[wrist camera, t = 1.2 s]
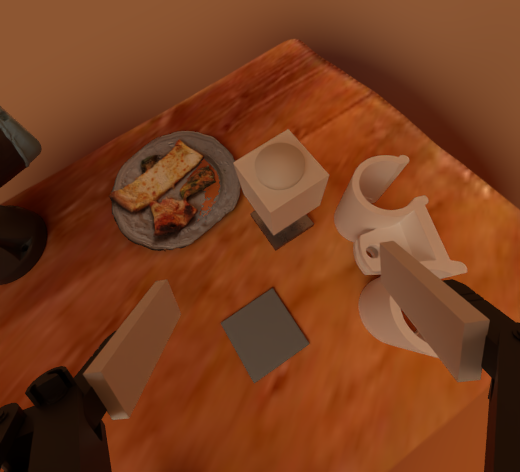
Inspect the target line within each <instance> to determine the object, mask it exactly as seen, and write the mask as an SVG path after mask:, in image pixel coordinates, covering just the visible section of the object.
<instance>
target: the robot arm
mask: <svg viewBox="0 0 520 472" xmlns="http://www.w3.org/2000/svg"><path fill="white" fill-rule="evenodd" d="M40 152H41V145H40V143H39V141H38V140H37V139H36V138H35V137H34V136H33V135H31V134H30V133H29V132H28V131H27V130H26V129H25V128H24V127H23V126H22V125H21V124H20V123H18V122H17V121H16V120H15V119H14V118H13V117H12V116H11V115H10V114H8V113H7V112H6V111H5V110H4V109H3V108H2V107H1V106H0V187H2V186H3V185H4V184H6V183H7V182H8V181H10V180H11V179H12V178H13V177H15V176H16V175H17V174H18V173H20V172H21V171H22V170H24V169H25V168H26V167H28V166H29V164H30V163H31V162H32V161H33V160H34V159H35V158H36V157H37V156H38V155H39V154H40ZM46 238H47V231H46V226H45V223H44V221H43V220H42V218H41V217H40V216H39V215H38V214H36V213H34V212H32V211H29V210H27V209H25V208H22V207H18V206H3V205H0V285H3V284H7V283H10V282H12V281H15V280H17V279H18V278H20V277H22V276H23V275H24V274H26V273H27V272H28V271H29V270H30V269H31V268H32V267H33V266H34V265H35V263H36V262H37V261H38V259H39V258H40V256H41V254H42V252H43V250H44V247H45V243H46ZM380 266H381V284H382V285H383V286H384V287H385V289H386V290H387V291H388V293H389V294H390V295H391V297H392V298H393V299H394V300H395V302H396V303H397V304H398V306H399V307H400V308H401V309H402V311H403V312H404V313H405V315H406V316H407V317H408V318H409V320H410V321H411V322H412V324H413V325H414V326H415V327H416V329H417V330H418V331H419V333H420V334H421V335H422V337H423V338H424V339H425V340H426V342H427V343H428V344H429V346H430V347H431V348H432V349H433V351H434V352H435V353H436V355H437V356H438V357H439V358H440V360H441V361H442V362H443V364H444V365H445V366H446V368H447V369H448V370H449V371H450V373H451V374H452V375H453V377H454V378H455V379H456V380H457V382H464V381H473V380H480V378H481V372H482V368H483V369H484V370H485V371H486V372H487V373H488V374H489V375H490V376H491V384H490V390H489V395H488V399H489V411H488V426H487V440H486V453H485V466H484V472H520V323H518V322H517V323H516V322H514V321H513V320H512V319H510V318H509V317H508V316H506V315H505V314H504V313H502V312H501V311H500V310H498V309H497V308H496V307H494V306H493V305H492V304H490V303H489V302H488V301H486V300H484V299H483V298H482V297H481V296H480V295H478V294H476V293H475V292H474V291H473V290H472V289H470V288H469V287H468V286H466V285H464V284H462V283H460V282H457V281H455V280H453V279H451V280H444V281H442V280H441V279H439V278H438V277H437V276H436V275H435V274H433V273H432V272H431V271H430V270H428V269H427V268H426V267H425V266H424V265H422V264H421V263H420V262H419V261H418V260H416V259H415V258H414V257H413V256H411V255H410V254H409V253H408V252H407V251H405V250H404V249H403V248H402V247H401V246H399V245H398V244H397V243H396V242H394V241H388V242H382V243H380ZM180 315H181V313H180V310H179V308H178V305H177V303H176V300H175V298H174V295H173V293H172V290H171V288H170V285H169V283H168V280H161V281H156V282H155V283H154V284H153V286H152V287H151V288H150V290H149V291H148V292H147V293H146V295H145V296H144V297H143V298H142V300H141V301H140V302H139V303H138V305H137V306H136V307H135V309H134V310H133V311H132V312H131V314H130V315H129V316H128V317H127V319H126V320H125V321H124V322H123V324H122V325H121V326H120V328H119V329H118V330H117V331H115V332H113V333H112V334H111V335H110V336H109V337H107V338H106V339H105V340H104V341H103V343H102V344H101V345H100V346H99V349H97V350H96V351H95V353H94V354H93V356H91V357H90V359H89V360H88V361H87V362H86V364H85V365H84V366H83V367H82V369H81V370H80V371H79V372H78V373H77V375H76V376H75V377H74V378H73V377H72V376H71V374H70V373H69V371H68V370H67V368H66V367H63V366H60V367H56V368H53V369H51V370H49V371H47V372H46V373H44V374H42V375H41V376H39V377H38V378H37V379H36V380H35V381H33V382H32V384H31V385H30V386H29V387H28V388H27V390H26V392H25V394H26V395H27V396H28V398H29V399H30V400H31V401H32V403H33V404H34V405H35V406H32V407H30V408H27V409H25V410H22V409H21V407H20V406H19V405H18V404H17V403H11V404H8V405H5V406H3V407H1V408H0V469H1V468H2V469H3V470H4V472H112V471H111V464H110V457H109V450H108V444H107V437H106V430H105V425H104V423H103V421H102V420H101V419H102V418H103V416H104V414H105V413H106V411H107V412H108V414H109V415H110V417H111V418H112V420H116V419H125V418H129V417H130V415H131V413H132V411H133V409H134V407H135V405H136V403H137V401H138V399H139V397H140V395H141V393H142V391H143V389H144V387H145V385H146V383H147V381H148V379H149V377H150V375H151V373H152V371H153V369H154V367H155V365H156V363H157V361H158V359H159V357H160V355H161V353H162V351H163V349H164V347H165V345H166V343H167V341H168V339H169V337H170V335H171V333H172V331H173V329H174V327H175V325H176V323H177V321H178V319H179V317H180Z"/></svg>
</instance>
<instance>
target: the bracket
mask: <svg viewBox="0 0 520 472" xmlns="http://www.w3.org/2000/svg"><path fill="white" fill-rule="evenodd" d="M408 163H409V158H408V157H407V156H406V155H401V156H399V157H396V156H390V155H380V156H375V157H371V158H369V159H367V160H365V161H364V162H362V163H361V164H360V165H359V166H358V167H357V169H356V170H355V172H354V174H353V176H352V178H351V180H350V182H349V184H348V186H347V188H346V190H345V192H344V194H343V196H342V198H341V200H340V203H339V205H338V207H337V209H336V211H335V214H334V222H335V226H336V228H337V230H338V232H339V233H340V234H341V235H342V236H343V237H344V238H346V239H347V240H349V241H351V242H354V245H353V252H354V257H355V260H356V263H357V265H358V267H359V268H360V270H361V271H362V272H363V273H364V275H381V266H380V243H382V242H388V241H394V242H396V243H397V244H398V245H399V246H401V247H402V248H403V249H404V250H405V251H407V252H408V253H409V254H410V255H411V256H413V257H414V258H415V259H416V260H418V261H419V262H420V263H421V264H422V265H424V266H425V267H426V268H427V269H428V270H430V271H431V272H432V273H433V274H435V275H436V276H437V277H438V278H439V279H442V278H446V277H451V276H455V275H459V274H463V273H467V267H466V265H465V264H464V263H462V262H459V261H453V260H450V258H449V256H448V254H447V252H446V250H445V247H444V245H443V243H442V241H441V239H440V237H439V234H438V232H437V230H436V228H435V226H434V224H433V222H432V219H431V217H430V215H429V213H428V211H427V209H426V206H425V205H426V204H427V203H428V198H427V197H426V196H425V195H423V196H419V197H415V198H414V199H413V200H412V201H411V202H410V203H409V204H408V206H406V207H404V208H401V209H397V210H385V209H381V208H378V207H376V206H374V205H372V204H371V203H375V202H377V201H378V199H379V198H380V197H381V196H382V194H383V193H384V192H385V191H386V189H387V188H388V187H389V186H390V185H391V183H392V182H393V181H394V180H395V178H396V177H397V176H398V175H399V174H400V172H401V171H402V170H403V169H404V167H405V166H406V165H407V164H408ZM366 251H368V252H370V253H371V255H372V258H371V257H369V256H368V255H367V253H366ZM359 314H360V317H361V320H362V322H363V324H364V326H365V327H366V329H367V330H368V331H369V332H370V333H371V334H372V335H373V336H374V337H375V338H377V339H378V340H380V341H381V342H384V343H386V344H389V345H393V346H396V347H400V348H404V349H407V350H411V351H415V352H418V353H422V354H426V355H429V356H433V357H437V358H439V357H438V356H437V355H436V353H435V352H434V351H433V349H432V348H431V347H430V346H429V344H428V343H427V342H426V340H425V339H424V338H423V337H422V335H421V334H420V333H419V331H418V330H416V331H415V332H414V333H413V331H412V330H411V329H410V328H409V327H408V325H407V324H406V322H405V320H404V318H403V315H402V312H401V309H400V307H399V306H398V304H397V303H396V302H395V300H394V299H393V298H392V297H391V295H390V294H389V293H388V291H387V290H386V289H385V287H384V286H383V285H382V284H381V276H380V277H378V278H376V279H374V280H373V281H371V282H370V283H368V284H367V285H366V286H365V288H364V289H363V291H362V293H361V295H360V298H359Z"/></svg>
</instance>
